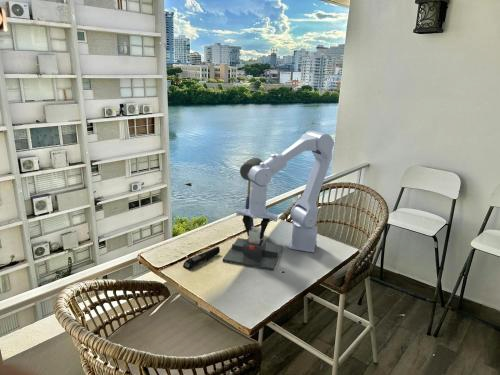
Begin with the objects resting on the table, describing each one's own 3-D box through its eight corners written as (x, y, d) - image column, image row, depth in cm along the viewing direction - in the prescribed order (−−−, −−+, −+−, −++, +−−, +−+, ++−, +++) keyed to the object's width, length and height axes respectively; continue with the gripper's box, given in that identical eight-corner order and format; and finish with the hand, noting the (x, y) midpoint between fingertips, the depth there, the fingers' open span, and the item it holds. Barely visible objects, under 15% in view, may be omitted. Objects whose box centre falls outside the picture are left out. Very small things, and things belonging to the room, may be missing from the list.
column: (261, 248, 131) (262, 228, 129) (258, 253, 127) (260, 232, 125) (250, 246, 132) (251, 226, 130) (247, 251, 128) (249, 230, 126)
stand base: (283, 247, 136) (284, 235, 135) (273, 271, 120) (274, 257, 118) (238, 240, 141) (238, 228, 139) (222, 261, 124) (222, 248, 123)
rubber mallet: (244, 222, 158) (248, 155, 149) (261, 224, 156) (265, 157, 147) (235, 233, 147) (238, 161, 138) (253, 236, 145) (257, 163, 136)
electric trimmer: (222, 255, 129) (222, 247, 128) (189, 271, 117) (189, 262, 116) (214, 252, 131) (215, 244, 130) (182, 267, 119) (182, 258, 119)
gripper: (234, 201, 122) (232, 237, 126) (276, 207, 119) (273, 244, 123) (240, 195, 129) (238, 230, 133) (280, 200, 125) (277, 236, 129)
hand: (255, 236), depth 128 cm, fingers closed on column, 4 cm apart
